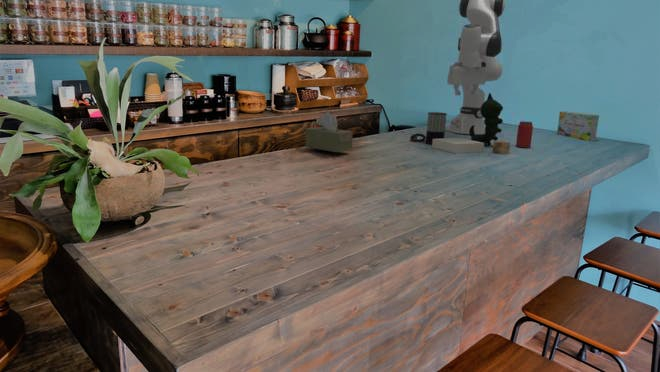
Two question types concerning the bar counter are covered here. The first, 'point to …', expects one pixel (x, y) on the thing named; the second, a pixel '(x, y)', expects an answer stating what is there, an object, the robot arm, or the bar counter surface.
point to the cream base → (458, 145)
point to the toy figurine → (489, 121)
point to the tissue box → (328, 135)
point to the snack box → (578, 125)
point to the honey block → (501, 147)
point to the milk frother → (433, 128)
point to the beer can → (524, 134)
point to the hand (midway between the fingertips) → (465, 95)
